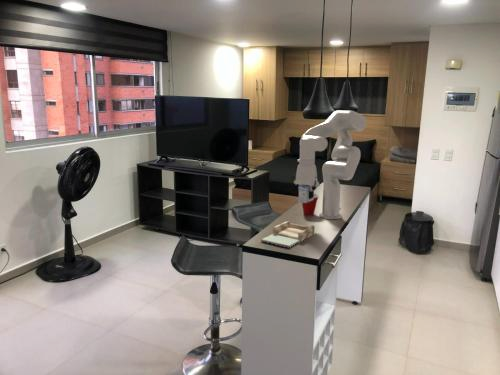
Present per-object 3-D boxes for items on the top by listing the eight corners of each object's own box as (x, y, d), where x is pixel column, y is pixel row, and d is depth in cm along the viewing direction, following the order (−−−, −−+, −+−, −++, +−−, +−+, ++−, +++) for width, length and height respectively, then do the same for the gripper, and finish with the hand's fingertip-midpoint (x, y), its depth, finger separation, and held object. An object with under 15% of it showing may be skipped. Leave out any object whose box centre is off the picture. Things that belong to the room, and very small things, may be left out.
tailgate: (272, 233, 197) (260, 239, 189) (300, 239, 189) (288, 246, 180) (272, 236, 197) (260, 241, 189) (300, 242, 189) (288, 248, 180)
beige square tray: (287, 229, 209) (287, 220, 208) (314, 234, 200) (314, 225, 199) (272, 236, 197) (272, 227, 197) (300, 242, 189) (300, 233, 188)
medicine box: (306, 198, 214) (306, 182, 212) (313, 200, 211) (314, 183, 209) (298, 202, 208) (298, 185, 206) (305, 203, 205) (306, 186, 203)
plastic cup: (318, 217, 230) (319, 196, 228) (298, 216, 232) (299, 195, 230) (318, 212, 241) (319, 192, 238) (300, 211, 243) (301, 191, 240)
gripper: (288, 161, 207) (288, 197, 211) (319, 165, 197) (318, 201, 201) (296, 160, 213) (295, 194, 217) (325, 162, 203) (324, 198, 207)
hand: (306, 197), depth 209 cm, fingers closed on medicine box, 4 cm apart
